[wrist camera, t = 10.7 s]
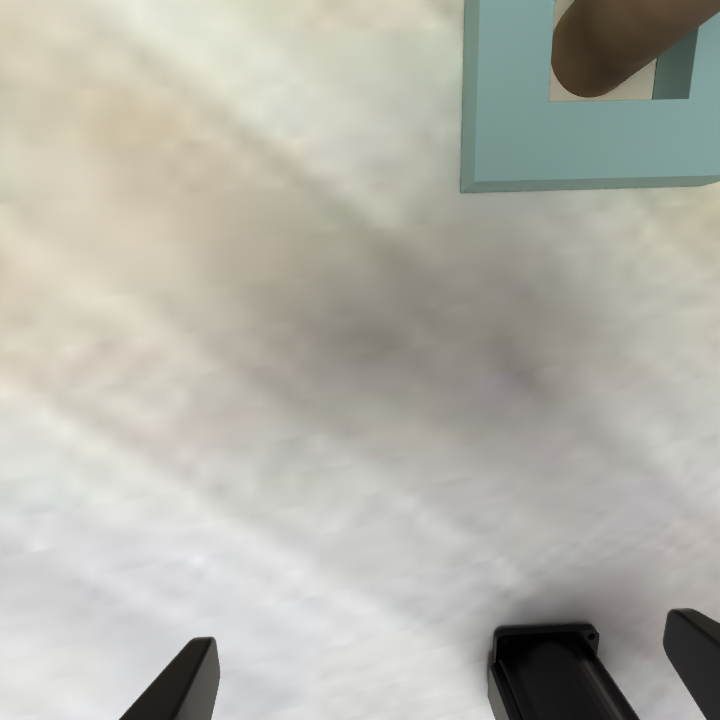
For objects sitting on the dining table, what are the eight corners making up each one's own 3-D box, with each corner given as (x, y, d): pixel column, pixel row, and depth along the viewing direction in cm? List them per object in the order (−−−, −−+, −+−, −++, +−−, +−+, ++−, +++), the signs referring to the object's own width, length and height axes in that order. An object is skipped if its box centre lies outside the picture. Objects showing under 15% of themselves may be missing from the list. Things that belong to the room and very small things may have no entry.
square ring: (747, -119, 15) (805, -177, 14) (701, 186, 18) (744, 174, 16) (467, -117, 15) (485, -177, 13) (460, 192, 18) (474, 181, 16)
